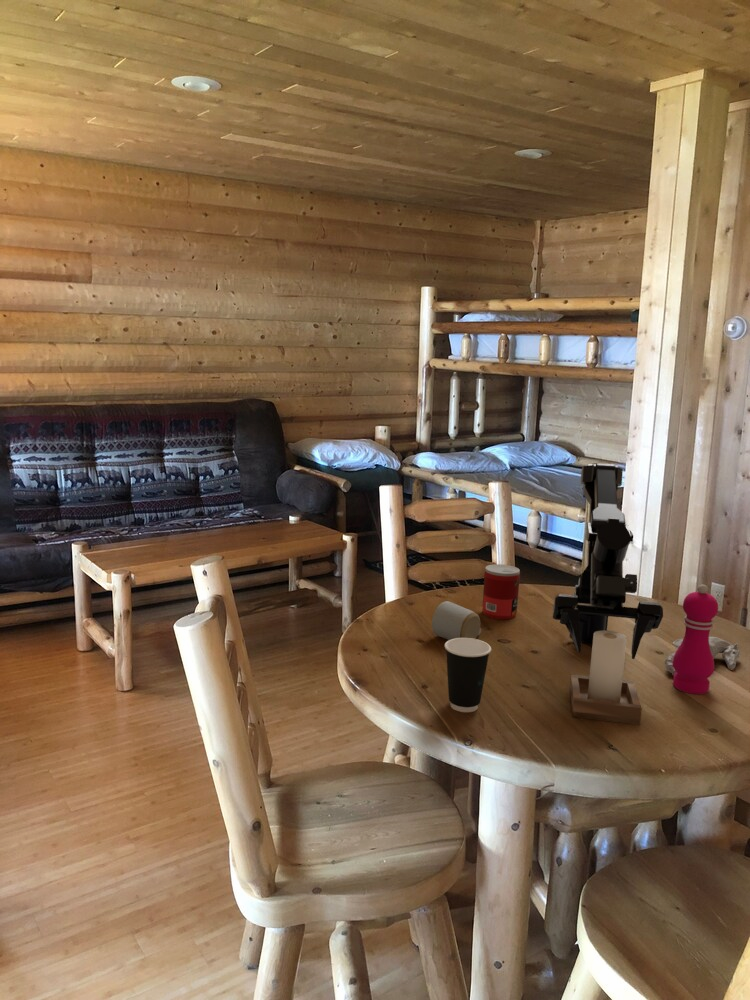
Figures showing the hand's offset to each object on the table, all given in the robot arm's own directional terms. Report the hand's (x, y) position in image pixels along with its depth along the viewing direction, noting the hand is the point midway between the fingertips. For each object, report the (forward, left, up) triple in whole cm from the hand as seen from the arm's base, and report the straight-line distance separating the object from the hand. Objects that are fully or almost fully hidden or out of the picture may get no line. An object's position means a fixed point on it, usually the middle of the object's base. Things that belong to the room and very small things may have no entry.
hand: (606, 655), depth 140 cm
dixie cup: (+24, -9, -9) cm, 27 cm away
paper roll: (+2, +2, -8) cm, 8 cm away
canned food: (-12, -44, -9) cm, 47 cm away
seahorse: (-30, -3, -9) cm, 31 cm away
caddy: (+2, +2, -9) cm, 9 cm away
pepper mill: (-20, +3, -9) cm, 22 cm away
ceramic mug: (+5, -36, -9) cm, 37 cm away
